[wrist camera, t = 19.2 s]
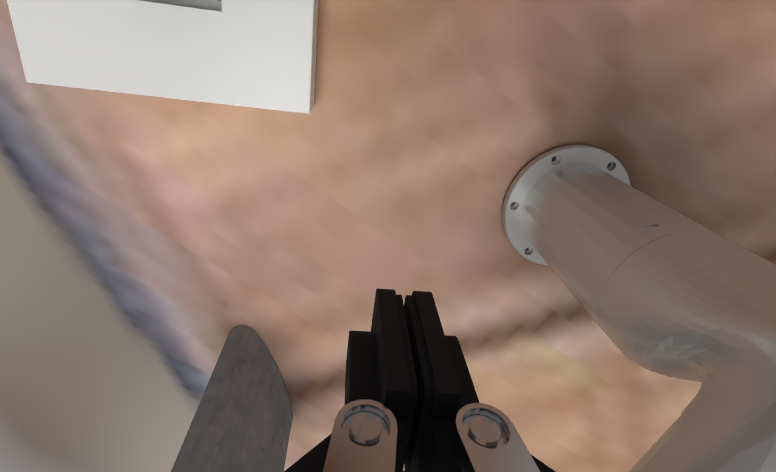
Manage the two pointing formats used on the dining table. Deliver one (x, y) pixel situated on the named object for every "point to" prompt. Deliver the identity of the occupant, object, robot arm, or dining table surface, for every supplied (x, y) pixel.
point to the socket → (174, 48)
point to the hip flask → (240, 413)
